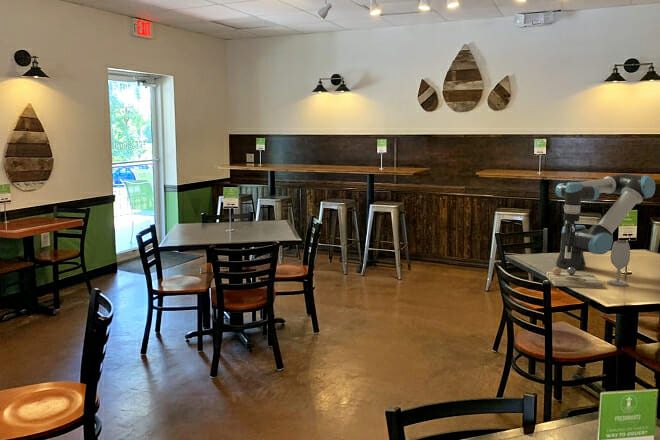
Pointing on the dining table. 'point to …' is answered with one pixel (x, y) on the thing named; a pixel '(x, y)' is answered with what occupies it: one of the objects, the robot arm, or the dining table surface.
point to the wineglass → (620, 259)
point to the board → (574, 280)
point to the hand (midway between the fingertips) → (567, 258)
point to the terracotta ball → (556, 270)
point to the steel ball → (571, 270)
